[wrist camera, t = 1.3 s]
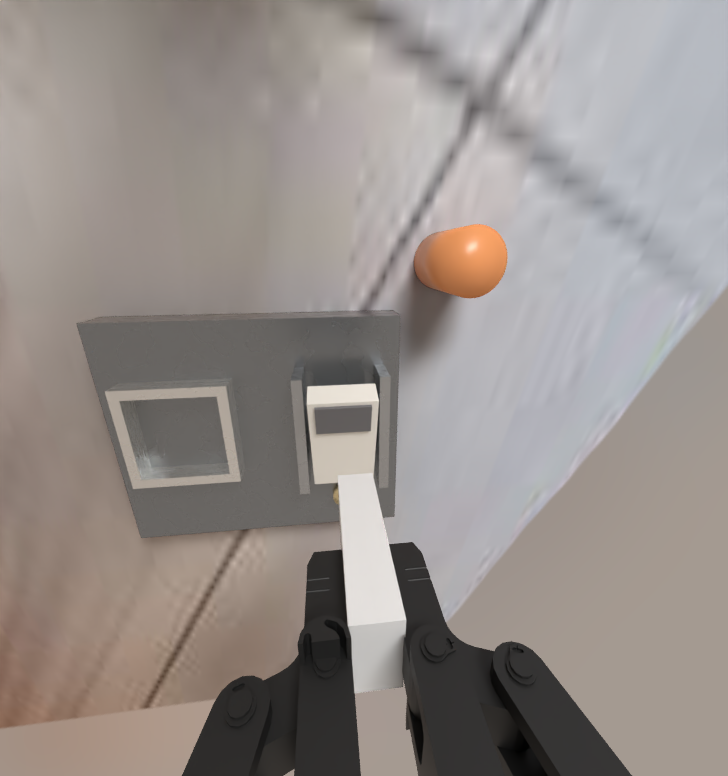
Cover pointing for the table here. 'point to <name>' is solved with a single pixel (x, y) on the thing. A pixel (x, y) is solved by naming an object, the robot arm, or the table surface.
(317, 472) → the block
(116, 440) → the breaker panel
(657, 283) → the table surface
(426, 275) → the cap
